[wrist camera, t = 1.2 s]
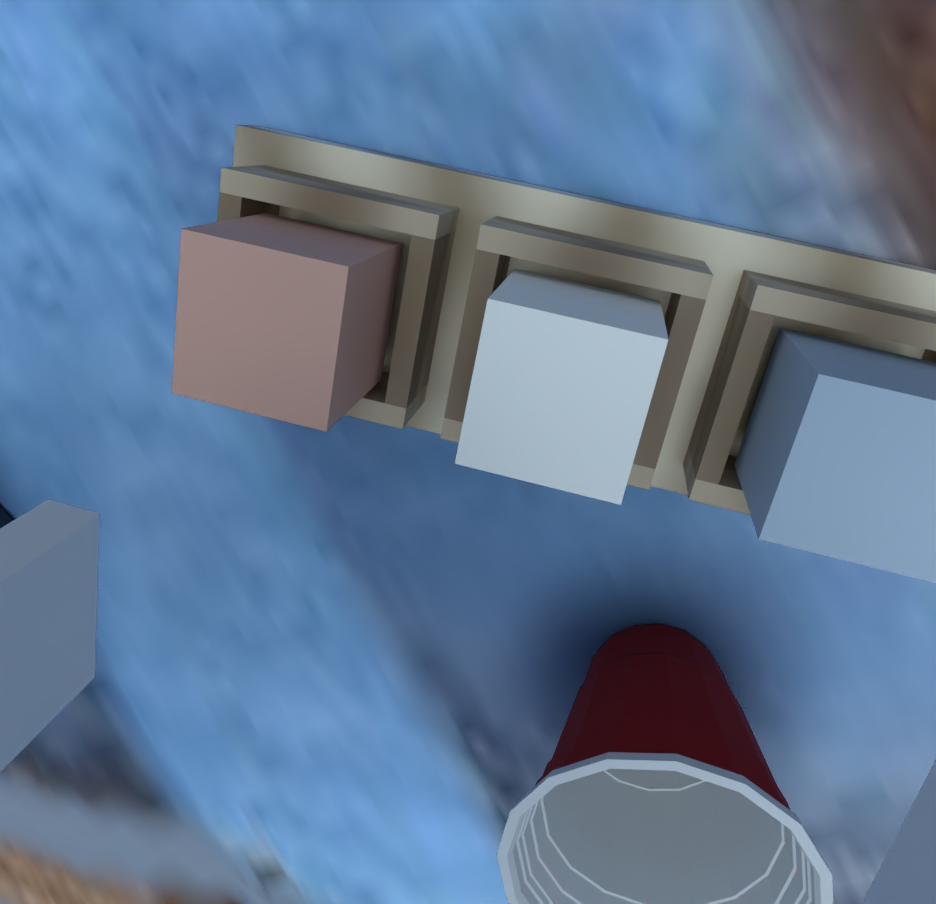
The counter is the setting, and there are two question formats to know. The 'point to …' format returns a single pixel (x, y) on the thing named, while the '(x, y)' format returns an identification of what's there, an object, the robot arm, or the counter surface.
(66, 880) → the counter surface
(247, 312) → the terracotta key
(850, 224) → the counter surface
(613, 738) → the plastic cup
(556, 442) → the ivory key
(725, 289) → the beige slotted block
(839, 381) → the slate key
